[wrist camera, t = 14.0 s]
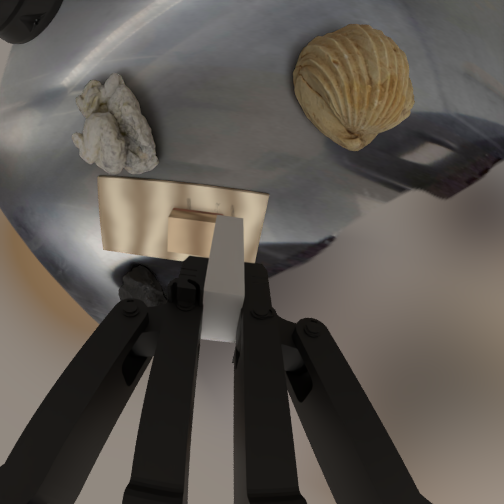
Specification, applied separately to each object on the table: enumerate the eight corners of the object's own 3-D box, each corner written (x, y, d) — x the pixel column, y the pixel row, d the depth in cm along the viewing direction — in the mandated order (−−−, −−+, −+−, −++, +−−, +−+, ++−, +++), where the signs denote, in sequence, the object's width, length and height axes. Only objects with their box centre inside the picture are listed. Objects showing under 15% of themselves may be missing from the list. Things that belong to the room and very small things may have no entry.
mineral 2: (180, 281, 51) (174, 302, 46) (164, 310, 55) (158, 330, 50) (133, 258, 48) (122, 277, 43) (121, 289, 52) (111, 308, 47)
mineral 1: (132, 50, 27) (73, 66, 20) (189, 146, 35) (137, 179, 28) (96, 95, 35) (48, 117, 28) (143, 175, 42) (99, 207, 36)
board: (104, 247, 46) (103, 249, 45) (99, 175, 39) (97, 176, 38) (252, 267, 49) (253, 270, 49) (268, 193, 42) (268, 195, 41)
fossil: (282, 133, 37) (304, 154, 25) (293, 25, 28) (321, -8, 15) (375, 148, 38) (428, 177, 26) (387, 50, 29) (447, 41, 16)
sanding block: (172, 240, 45) (167, 251, 42) (173, 207, 42) (168, 217, 39) (218, 246, 46) (217, 258, 43) (223, 214, 43) (221, 224, 40)
